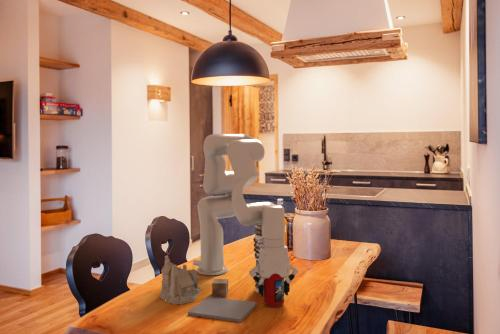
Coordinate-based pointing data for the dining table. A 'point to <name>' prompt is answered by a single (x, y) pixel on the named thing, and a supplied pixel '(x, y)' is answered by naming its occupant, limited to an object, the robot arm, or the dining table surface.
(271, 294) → the beverage can
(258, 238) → the decorative candle
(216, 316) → the slate board
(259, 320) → the dining table surface
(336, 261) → the dining table surface
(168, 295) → the ceramic cottage
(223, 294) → the walnut block
